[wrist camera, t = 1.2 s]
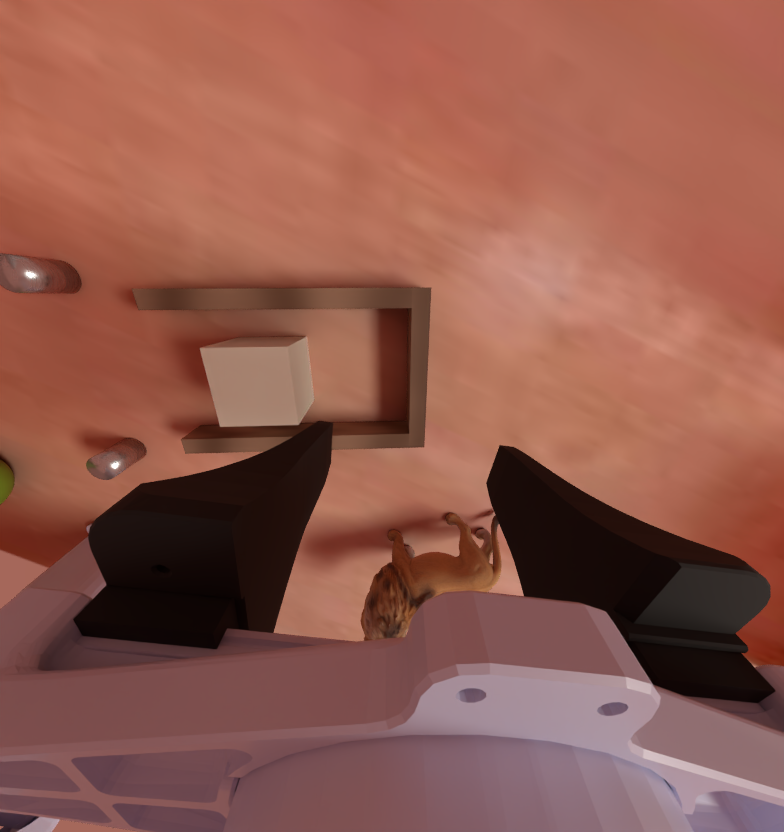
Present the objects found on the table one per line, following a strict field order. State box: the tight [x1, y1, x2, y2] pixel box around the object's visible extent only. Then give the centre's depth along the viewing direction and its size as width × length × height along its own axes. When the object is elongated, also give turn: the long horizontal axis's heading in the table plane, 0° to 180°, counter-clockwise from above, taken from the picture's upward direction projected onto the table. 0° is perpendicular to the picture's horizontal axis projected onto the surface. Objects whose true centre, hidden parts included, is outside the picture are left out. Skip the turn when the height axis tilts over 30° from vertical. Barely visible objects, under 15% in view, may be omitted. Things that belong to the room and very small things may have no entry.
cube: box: [200, 337, 314, 427], centre depth 20 cm, size 5×5×5 cm
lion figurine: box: [361, 513, 501, 641], centre depth 25 cm, size 15×5×9 cm, turn 114°
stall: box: [132, 288, 431, 454], centre depth 21 cm, size 18×11×2 cm, turn 90°
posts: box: [0, 253, 146, 480], centre depth 20 cm, size 2×15×3 cm, turn 0°
